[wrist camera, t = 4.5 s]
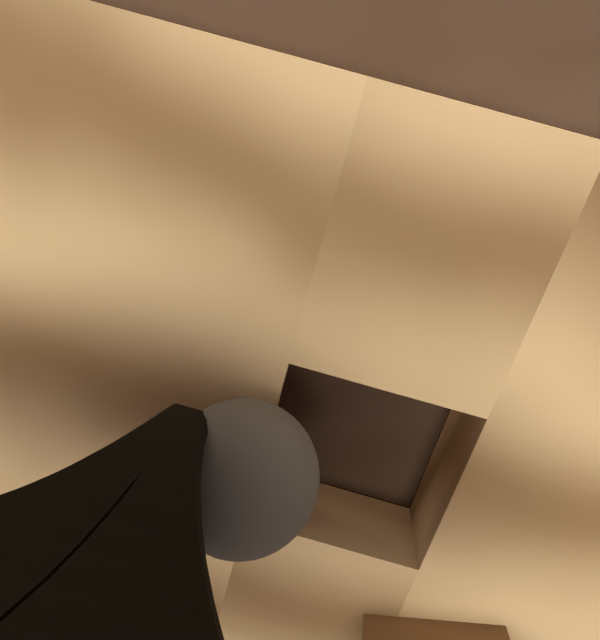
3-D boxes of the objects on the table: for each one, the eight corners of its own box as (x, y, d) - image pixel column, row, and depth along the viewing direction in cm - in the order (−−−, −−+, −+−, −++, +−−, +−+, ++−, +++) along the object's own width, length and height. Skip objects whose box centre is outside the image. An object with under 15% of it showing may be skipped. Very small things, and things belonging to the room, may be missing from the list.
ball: (303, 582, 12) (163, 615, 9) (246, 471, 14) (125, 476, 12) (376, 475, 10) (235, 484, 8) (300, 374, 13) (176, 360, 11)
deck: (496, 685, 18) (517, 765, 16) (-175, 492, 18) (-252, 543, 16) (781, 204, 12) (886, 217, 10) (-234, -73, 12) (-373, -126, 10)
